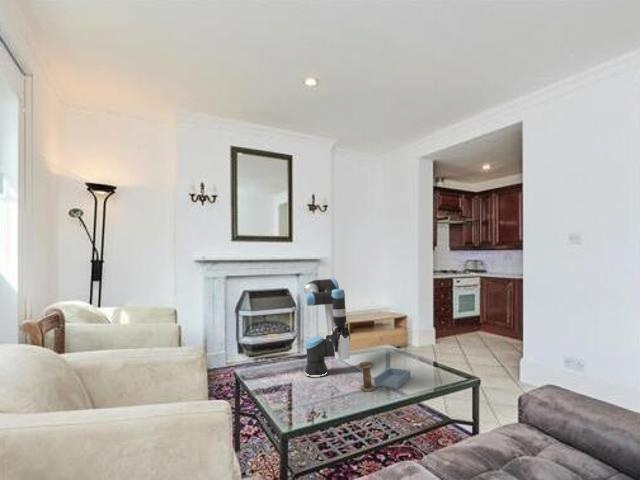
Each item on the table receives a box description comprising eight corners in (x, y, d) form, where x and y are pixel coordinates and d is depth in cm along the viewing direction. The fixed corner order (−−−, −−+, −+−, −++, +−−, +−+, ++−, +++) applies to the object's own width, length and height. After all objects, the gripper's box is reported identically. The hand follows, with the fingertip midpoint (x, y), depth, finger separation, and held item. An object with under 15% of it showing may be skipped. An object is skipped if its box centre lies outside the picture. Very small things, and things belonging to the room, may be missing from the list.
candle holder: (349, 360, 193) (348, 338, 194) (332, 360, 195) (331, 339, 196) (351, 355, 203) (350, 334, 204) (335, 355, 205) (334, 335, 206)
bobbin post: (358, 389, 197) (356, 365, 197) (365, 385, 203) (363, 361, 204) (370, 392, 192) (369, 367, 193) (377, 387, 198) (375, 362, 199)
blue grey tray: (374, 384, 203) (374, 377, 203) (389, 374, 219) (388, 367, 219) (397, 389, 194) (397, 381, 194) (410, 377, 210) (410, 370, 211)
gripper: (334, 319, 189) (337, 361, 188) (354, 313, 207) (357, 351, 206) (323, 318, 194) (326, 359, 193) (344, 312, 211) (346, 349, 210)
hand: (342, 355), depth 199 cm, fingers closed on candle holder, 9 cm apart
